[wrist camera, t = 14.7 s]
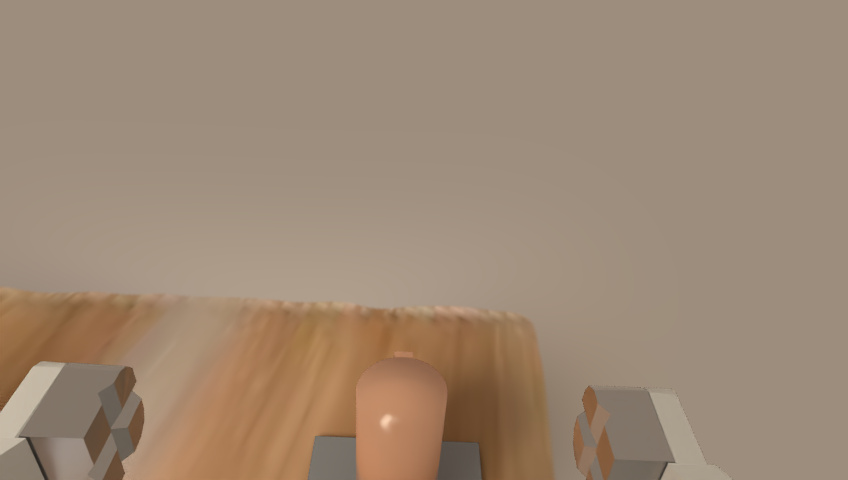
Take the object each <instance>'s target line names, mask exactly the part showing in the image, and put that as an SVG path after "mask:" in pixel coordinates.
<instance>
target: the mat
mask: <svg viewBox="0 0 848 480" xmlns="http://www.w3.org/2000/svg"><path fill="white" fill-rule="evenodd" d="M308 480H356V438H351V437H326V436H315V441H314V446H313V452H312V458H311V464H310V469H309V475H308ZM437 480H482V476H481V464H480V453H479V443H475V442H450V441H442V445H441V453H440V461H439V469H438V477H437Z"/></svg>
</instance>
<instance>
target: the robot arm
mask: <svg viewBox="0 0 848 480" xmlns="http://www.w3.org/2000/svg"><path fill="white" fill-rule="evenodd" d="M135 383H136V378H135V375H134V372H133V369H132V368H130V367H127V366H113V365H99V364H84V363H62V362H47V361H41V362H40V363H38V364H36V365H35V366H33V367H32V368H31V370H30V371H29V373H28V374H27V375H26V377H25V378H24V380H23V381H22V383H21V384H20V385H19V387H18V388H17V390H16V391H15V392H14V394H13V395H12V397H11V398H10V399H9V401H8V402H7V404H6V405H5V406H4V408H3V409H2V411H1V412H0V480H122V479H123V476H124V474H125V472H124V469H123V466H122V463H121V461H123V460H124V459H125V458H127V457H128V456H129V455H131V454H132V453H133V452H135V450H136V447H137V445H138V443H139V440H140V438H141V434H142V429H143V424H144V407H143V403H142V399H141V398H140V397H139V396H138V395H136V394H135V393H134V392H133V391H132V389H133V387H134V385H135ZM582 401H583V405H584V409H585V411H584V412H583V413H581V414H580V415H579V416H578V417H577V420H576V423H575V427H574V440H573V446H574V454H575V460H576V464H577V468H578V469H579V470H580V472H581V473H582V474H583V475H584V476H586V480H733V479H732V478H731V477H730V476H728V475H727V474H726V473H725V472H724V471H723V470H721V469H720V468H719V467H718V466H717V465H709V464H707V462H706V460H705V457H704V455H703V453H702V451H701V448H700V446H699V444H698V441H697V439H696V437H695V435H694V432H693V430H692V428H691V426H690V423H689V421H688V419H687V417H686V415H685V412H684V410H683V408H682V405H681V403H680V401H679V399H678V396H677V394H676V393H675V392H674V391H673V390H672V389H668V388H667V389H666V388H641V387H615V386H614V387H613V386H588V387H587V389H586V390H585V393H584V396H583V399H582Z"/></svg>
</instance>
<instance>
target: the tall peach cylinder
mask: <svg viewBox="0 0 848 480" xmlns="http://www.w3.org/2000/svg"><path fill="white" fill-rule="evenodd" d="M447 395H448V391H447V386H446V383H445V380H444V379H443V377H442V375H441V374H440V373H439V372H438V371H437V370H436V369H435V368H433V367H432V366H431V365H429V364H427V363H425V362H423V361H420V360H417V359H413V352H400V351H395V352H394V358H388V359H385V360H381V361H379V362H377V363H375V364H373V365H371V366H370V367H369V368H367V369H366V370H365V371H364V372H363V374H362V375H361V377H360V378H359V380H358V383H357V387H356V480H437V477H438V469H439V461H440V453H441V445H442V437H443V429H444V421H445V412H446V404H447Z"/></svg>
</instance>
